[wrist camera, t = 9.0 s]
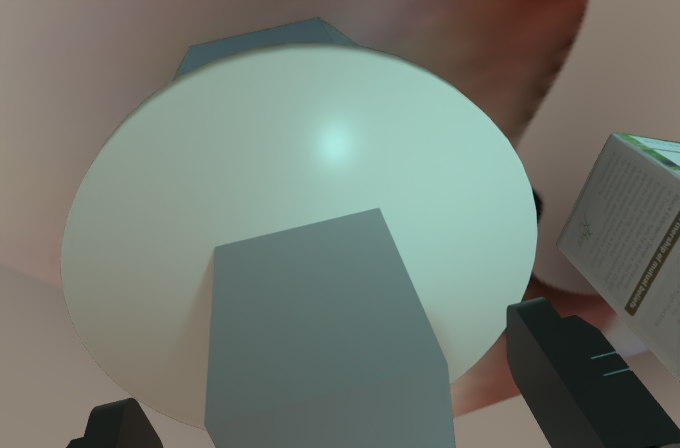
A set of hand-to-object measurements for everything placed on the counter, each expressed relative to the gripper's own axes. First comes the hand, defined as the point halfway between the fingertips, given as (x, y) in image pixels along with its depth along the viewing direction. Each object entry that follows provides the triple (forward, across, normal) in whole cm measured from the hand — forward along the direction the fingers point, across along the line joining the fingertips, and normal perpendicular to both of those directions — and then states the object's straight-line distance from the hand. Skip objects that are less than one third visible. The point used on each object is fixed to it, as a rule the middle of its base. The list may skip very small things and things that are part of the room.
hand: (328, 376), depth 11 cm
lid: (+4, 0, 0) cm, 4 cm away
